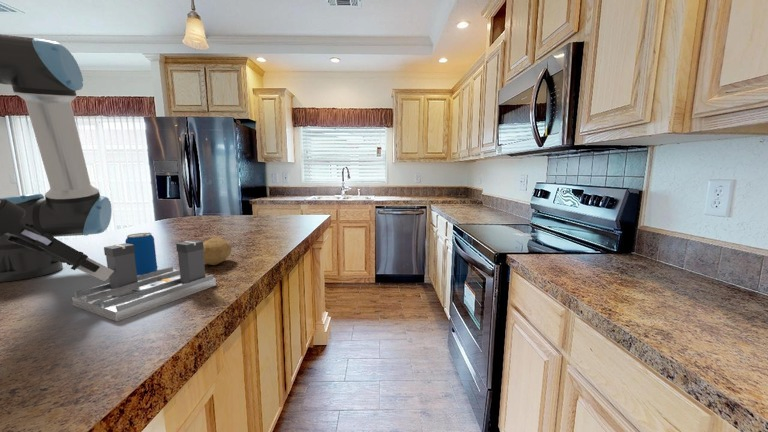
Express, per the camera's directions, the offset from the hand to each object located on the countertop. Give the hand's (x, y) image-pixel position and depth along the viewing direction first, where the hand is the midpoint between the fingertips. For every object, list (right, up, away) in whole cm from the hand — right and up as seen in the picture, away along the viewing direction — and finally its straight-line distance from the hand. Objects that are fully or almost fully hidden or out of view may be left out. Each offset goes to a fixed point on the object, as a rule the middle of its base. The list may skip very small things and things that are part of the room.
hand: (107, 275), depth 72 cm
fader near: (+1, -3, +4) cm, 5 cm away
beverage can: (-6, -4, +19) cm, 20 cm away
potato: (+9, -2, +29) cm, 31 cm away
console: (+7, -5, +4) cm, 10 cm away
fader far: (+15, -3, +7) cm, 17 cm away
